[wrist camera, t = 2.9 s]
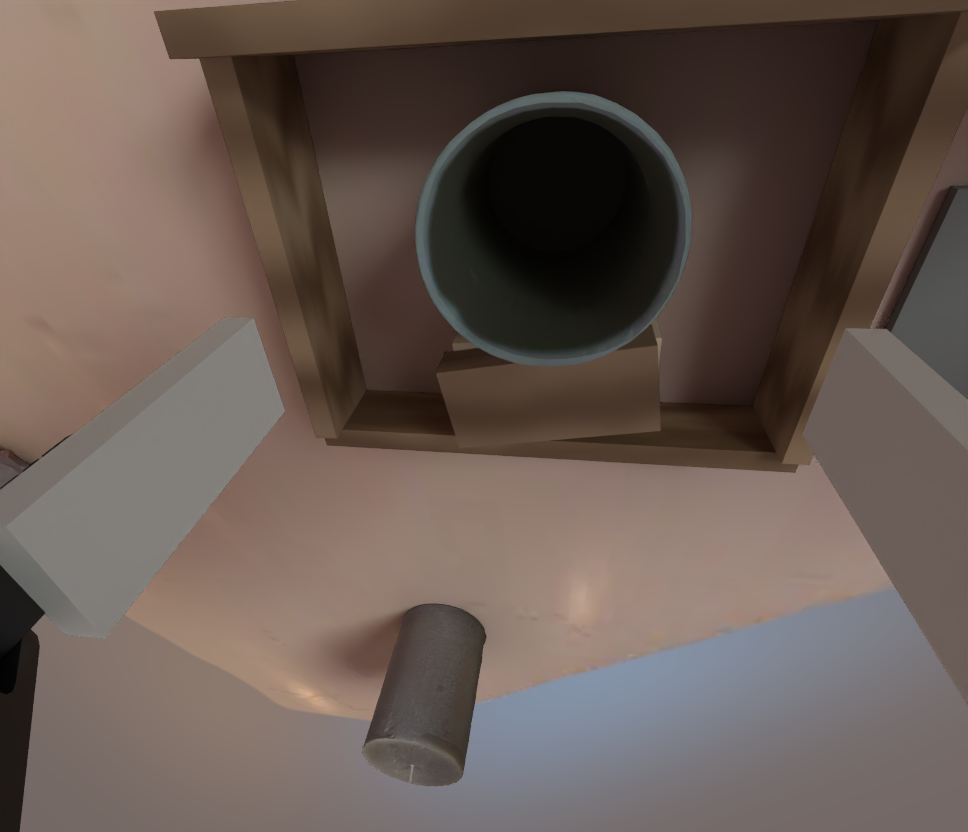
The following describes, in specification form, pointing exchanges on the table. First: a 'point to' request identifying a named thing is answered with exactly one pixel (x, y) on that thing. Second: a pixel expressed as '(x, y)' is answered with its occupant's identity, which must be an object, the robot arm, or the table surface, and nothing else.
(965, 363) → the charcoal mat
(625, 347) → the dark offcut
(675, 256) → the grey cup
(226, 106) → the frame
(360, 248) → the table surface
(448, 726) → the pillar candle
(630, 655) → the table surface
